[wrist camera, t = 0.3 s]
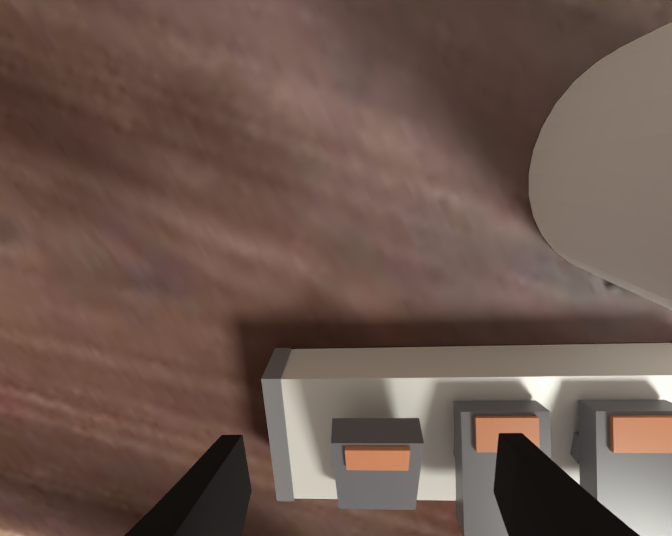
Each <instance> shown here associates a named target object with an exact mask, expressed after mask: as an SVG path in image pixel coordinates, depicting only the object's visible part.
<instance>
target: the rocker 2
mask: <svg viewBox="0 0 672 536" xmlns="http://www.w3.org/2000/svg"><path fill="white" fill-rule="evenodd" d="M453 402H454V440H455V477H456V515H457V520H458V523H459V526H460V528H461V531H462V533H463V536H508V533H507V530H506V527H505V524H504V522H503V519H502V516H501V513H500V510H499V507H498V504H497V501H496V498H495V495H494V492H493V490H494V479H495V468H496V457H497V446H498V436H499V433H522V434H524V435H525V436H526V437H527V438H528V439H529V440H530V441H531V442H533V443H534V444H535V445H536V446H537V447H538V448H539V449H540V450H541V451H543V452H544V453H545V454H546V455H547V456H548V457H549V458H550V459H551V431H550V411H549V410H548V409H546V408H545V407H544V406H543V405H541V404H540V403H539V402H537V401H536V400H511V401H453Z"/></svg>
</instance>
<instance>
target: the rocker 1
mask: <svg viewBox="0 0 672 536" xmlns="http://www.w3.org/2000/svg"><path fill="white" fill-rule="evenodd" d="M423 447H424V441H423V436H422V430H421V425H420V420H419V418H332V432H331V448H332V457H333V465H334V473H335V481H336V490H337V498H338V506H339V509H390V510H415V508H416V500H417V493H418V485H419V478H420V470H421V462H422V455H423Z"/></svg>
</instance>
